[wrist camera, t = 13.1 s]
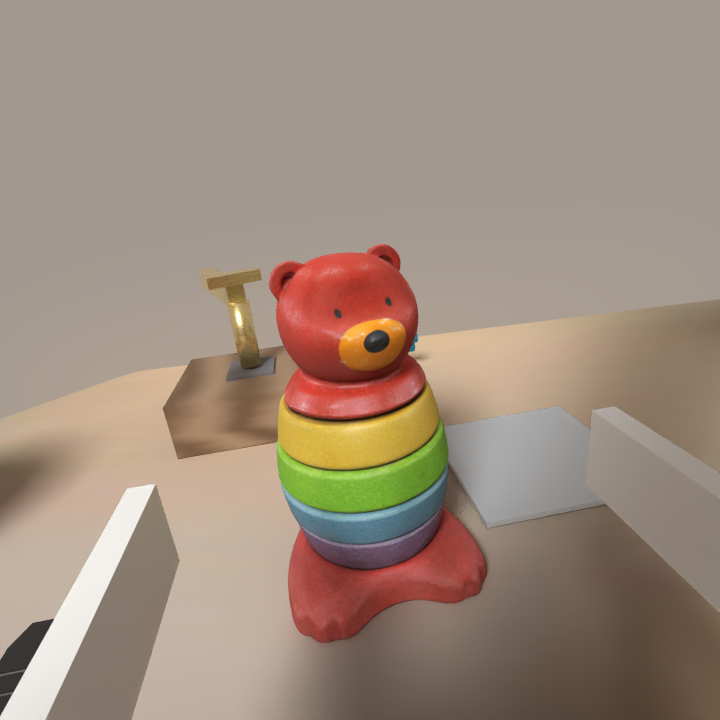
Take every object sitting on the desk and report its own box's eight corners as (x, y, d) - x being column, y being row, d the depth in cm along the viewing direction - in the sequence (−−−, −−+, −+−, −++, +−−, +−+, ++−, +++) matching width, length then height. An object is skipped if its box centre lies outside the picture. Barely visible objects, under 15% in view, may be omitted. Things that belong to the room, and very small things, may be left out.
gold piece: (277, 360, 44) (260, 269, 41) (228, 373, 42) (206, 279, 39) (239, 328, 56) (223, 257, 53) (200, 337, 54) (181, 263, 51)
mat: (559, 410, 40) (559, 406, 40) (663, 492, 29) (664, 487, 29) (429, 432, 39) (429, 428, 39) (486, 528, 28) (486, 523, 28)
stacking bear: (298, 658, 21) (214, 290, 15) (279, 520, 31) (221, 256, 24) (501, 591, 23) (504, 245, 17) (426, 481, 33) (409, 230, 26)
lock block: (325, 381, 52) (318, 338, 50) (335, 431, 41) (327, 378, 39) (202, 400, 51) (190, 357, 49) (177, 458, 39) (161, 405, 38)
